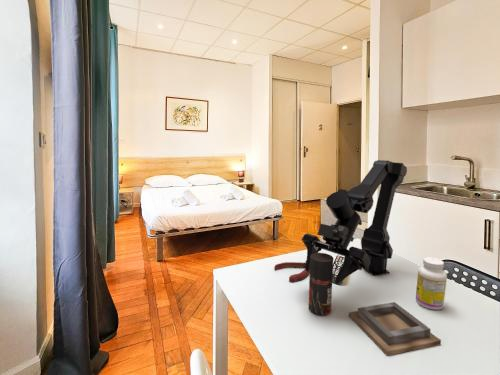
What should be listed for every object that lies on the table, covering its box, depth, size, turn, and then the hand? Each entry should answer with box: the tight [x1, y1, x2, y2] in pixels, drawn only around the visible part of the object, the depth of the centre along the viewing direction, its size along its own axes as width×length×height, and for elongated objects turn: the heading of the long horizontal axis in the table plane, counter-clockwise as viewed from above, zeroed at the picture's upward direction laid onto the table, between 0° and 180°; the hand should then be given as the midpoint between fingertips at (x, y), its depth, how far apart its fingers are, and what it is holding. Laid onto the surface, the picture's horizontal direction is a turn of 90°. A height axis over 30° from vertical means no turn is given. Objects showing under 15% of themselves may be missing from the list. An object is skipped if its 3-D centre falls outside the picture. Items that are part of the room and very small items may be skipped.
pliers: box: [274, 261, 310, 283], centre depth 98 cm, size 12×20×3 cm, turn 116°
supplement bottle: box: [415, 256, 448, 311], centre depth 76 cm, size 7×7×13 cm
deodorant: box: [308, 252, 334, 317], centre depth 73 cm, size 6×6×15 cm
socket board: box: [348, 301, 442, 357], centre depth 66 cm, size 14×14×3 cm
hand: (320, 276), depth 73 cm, fingers open, 9 cm apart
